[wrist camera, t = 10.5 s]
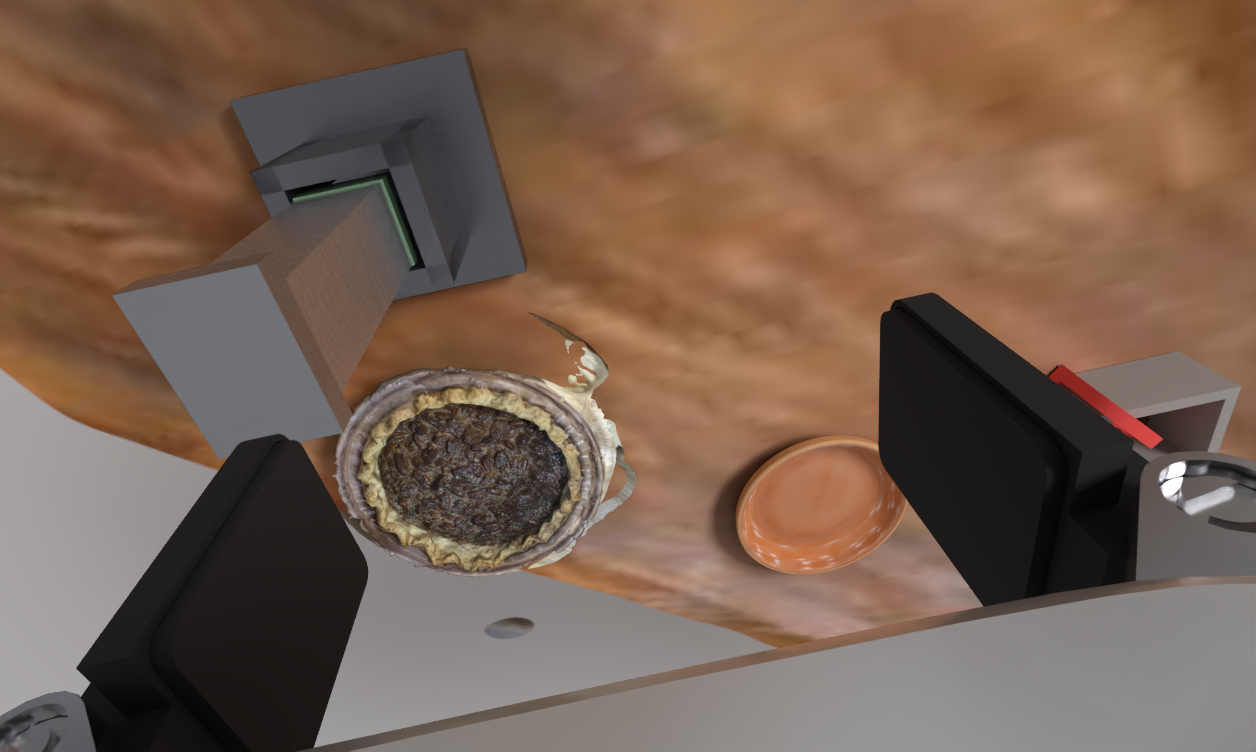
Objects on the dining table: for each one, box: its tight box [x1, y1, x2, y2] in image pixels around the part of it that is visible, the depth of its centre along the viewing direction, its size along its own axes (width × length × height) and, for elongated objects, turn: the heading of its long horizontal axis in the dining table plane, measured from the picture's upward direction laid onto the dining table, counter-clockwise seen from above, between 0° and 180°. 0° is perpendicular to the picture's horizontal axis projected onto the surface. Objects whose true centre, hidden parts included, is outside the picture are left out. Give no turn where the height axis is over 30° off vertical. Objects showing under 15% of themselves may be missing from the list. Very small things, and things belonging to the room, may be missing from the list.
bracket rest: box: [1061, 351, 1241, 462], centre depth 56 cm, size 9×16×6 cm, turn 101°
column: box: [112, 171, 420, 460], centre depth 28 cm, size 6×5×17 cm
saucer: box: [736, 435, 908, 574], centre depth 59 cm, size 16×16×3 cm
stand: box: [230, 48, 527, 300], centre depth 38 cm, size 14×14×11 cm
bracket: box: [1049, 365, 1163, 449], centre depth 55 cm, size 12×4×8 cm, turn 57°
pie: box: [333, 313, 637, 577], centre depth 52 cm, size 28×27×5 cm
